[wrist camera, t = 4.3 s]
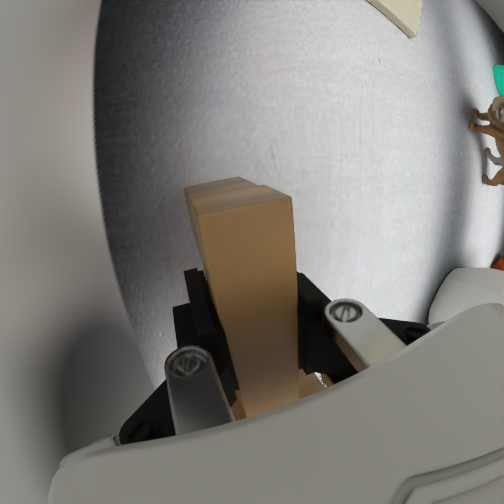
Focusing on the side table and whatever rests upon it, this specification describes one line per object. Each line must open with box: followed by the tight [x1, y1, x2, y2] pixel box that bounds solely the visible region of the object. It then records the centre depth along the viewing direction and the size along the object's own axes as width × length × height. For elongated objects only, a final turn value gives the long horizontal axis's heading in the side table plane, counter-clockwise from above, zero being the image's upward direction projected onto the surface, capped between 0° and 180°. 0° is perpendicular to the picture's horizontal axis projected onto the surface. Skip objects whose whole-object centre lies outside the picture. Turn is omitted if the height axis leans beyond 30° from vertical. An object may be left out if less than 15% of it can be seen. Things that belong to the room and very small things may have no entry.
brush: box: [184, 177, 325, 421], centre depth 11 cm, size 14×5×5 cm, turn 8°
